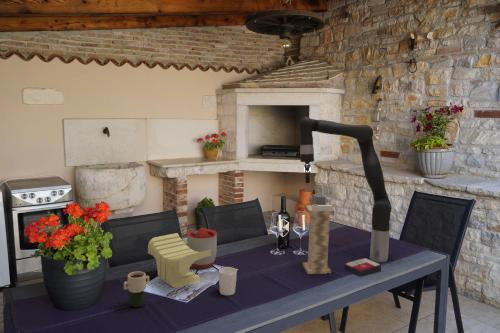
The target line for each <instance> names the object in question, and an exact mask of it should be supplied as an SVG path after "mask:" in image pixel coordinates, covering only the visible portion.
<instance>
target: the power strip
mask: <svg viewBox="0 0 500 333" xmlns="http://www.w3.org/2000/svg"><path fill="white" fill-rule="evenodd" d="M311 205H312V204H311ZM311 210H312V211H333V210H334V206H333V205H332V204H326V205H317V204H313V205H312V209H311Z"/></svg>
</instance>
